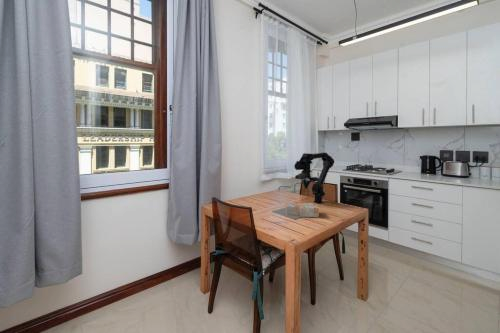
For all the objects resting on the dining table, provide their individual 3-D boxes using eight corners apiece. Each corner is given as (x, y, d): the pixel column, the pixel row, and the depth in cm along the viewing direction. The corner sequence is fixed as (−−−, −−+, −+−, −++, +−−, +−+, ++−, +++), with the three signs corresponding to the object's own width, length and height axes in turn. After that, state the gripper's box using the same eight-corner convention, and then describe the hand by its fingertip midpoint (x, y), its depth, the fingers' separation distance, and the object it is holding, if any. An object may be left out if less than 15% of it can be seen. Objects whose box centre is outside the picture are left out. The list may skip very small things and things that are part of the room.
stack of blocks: (285, 210, 176) (286, 216, 164) (286, 202, 175) (286, 207, 163) (316, 212, 173) (318, 217, 161) (316, 203, 173) (319, 208, 161)
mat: (285, 208, 184) (285, 207, 184) (308, 215, 167) (308, 214, 167) (271, 211, 176) (271, 211, 176) (294, 219, 158) (294, 218, 158)
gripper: (290, 168, 193) (290, 188, 195) (309, 171, 178) (309, 192, 180) (299, 167, 200) (299, 186, 202) (318, 170, 185) (318, 190, 187)
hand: (306, 188), depth 192 cm, fingers closed
